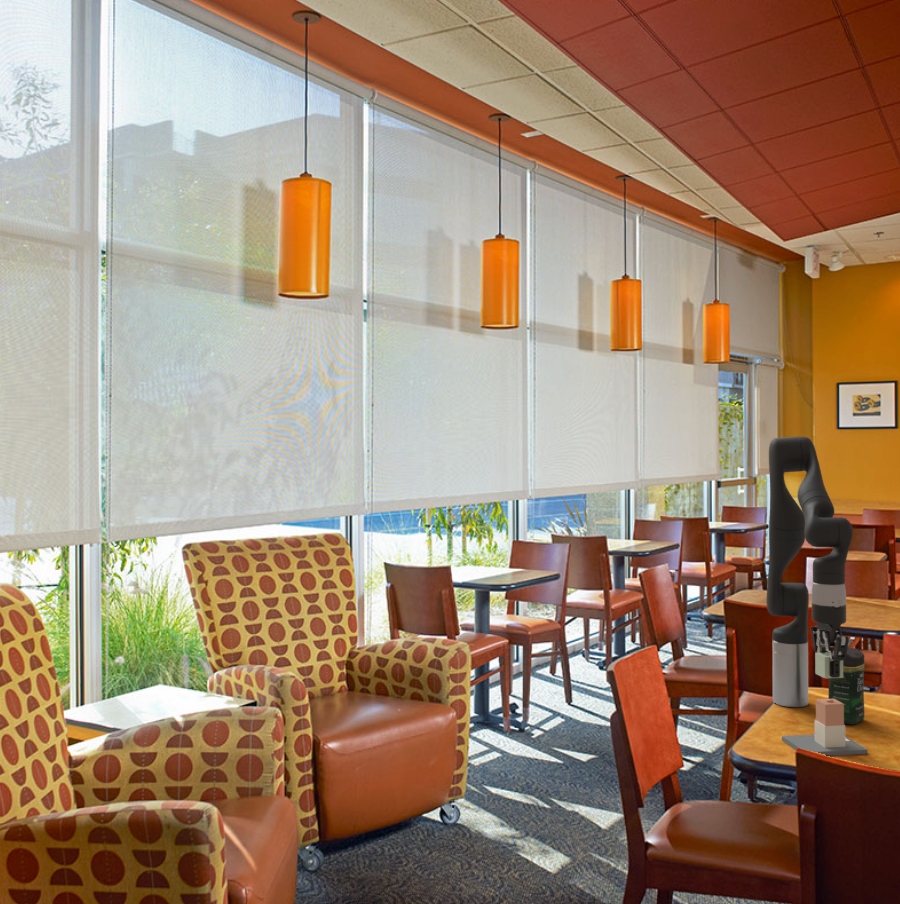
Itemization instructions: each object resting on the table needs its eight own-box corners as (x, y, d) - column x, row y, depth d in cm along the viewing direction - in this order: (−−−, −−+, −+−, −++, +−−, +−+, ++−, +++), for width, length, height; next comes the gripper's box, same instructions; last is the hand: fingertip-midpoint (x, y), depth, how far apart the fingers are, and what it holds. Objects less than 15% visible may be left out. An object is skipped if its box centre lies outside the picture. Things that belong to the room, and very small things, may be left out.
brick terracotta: (815, 720, 221) (815, 697, 221) (834, 719, 221) (833, 696, 221) (825, 725, 216) (825, 702, 216) (843, 725, 217) (843, 702, 217)
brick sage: (815, 673, 221) (815, 651, 221) (833, 673, 221) (833, 650, 221) (824, 678, 216) (824, 655, 216) (843, 677, 217) (843, 654, 217)
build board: (781, 740, 225) (781, 715, 225) (841, 737, 226) (840, 713, 226) (805, 756, 213) (805, 730, 213) (867, 753, 214) (867, 728, 214)
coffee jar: (855, 727, 234) (854, 654, 234) (823, 721, 239) (823, 649, 239) (869, 719, 241) (868, 648, 241) (838, 713, 246) (838, 643, 246)
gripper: (799, 597, 225) (799, 667, 225) (828, 607, 211) (829, 682, 211) (828, 596, 226) (829, 666, 226) (860, 606, 212) (860, 681, 212)
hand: (829, 674), depth 219 cm, fingers closed on brick sage, 4 cm apart
